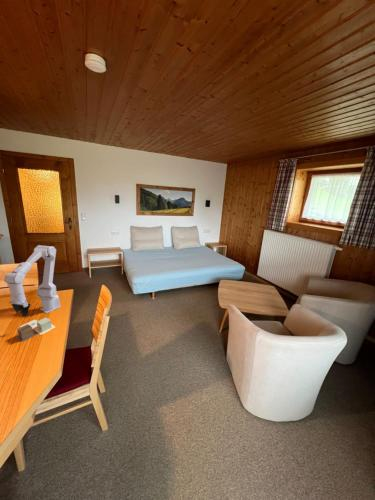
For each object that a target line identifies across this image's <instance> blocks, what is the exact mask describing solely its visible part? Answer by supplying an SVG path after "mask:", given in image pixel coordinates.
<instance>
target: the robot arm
mask: <svg viewBox="0 0 375 500" xmlns="http://www.w3.org/2000/svg"><path fill="white" fill-rule="evenodd" d="M56 255H57V249H56V248H55V246H52V245H51V246H49V245H40V244H38V245H37V246H35V247H34V249H33V252H32V254H31V255H29V257H28V258H27V259H26V261H25V262H24V261H23V262H22V261H21V262H20V263H19V264H18V265H17V266H16V267H15V268H14V269H13V270H12V271H10V272H8V273H7V274H5V276H4V279H3V281H4V283H6V285H7V286H8V288H9V293H10V299H11V300H10V301H9V303H8V304H10V305H11V306H12V307H13V309H14V311H15V313H19V312H20V314H21V316H22V317H23V318H24V317H27V316H29V310H30V307H31V303H28V301H27V297H26V295H25V290H24V286H23V282H24V280H25V277H26V275H27V274H29V271H31V269H32V266H33V264H35V263H36V262H37V261H38V260H39V259H40V258H43V260H44V268H43V277H42V278H43V279H42V283H41V284H39V286H38V289H37V291H36V296H37V297H38V298H39V299H40V301H41V306H42V308H39V310H40V311H41V312H43V313H45V314H48V313H50V312H53V311H55V310H57V309H59V308H61V307H62V306H61V302H60V298H59V295H58V294H57V291H58V290H57V285H55V284H54V283H53V281H54V272H55V264H56V263H55V262H56Z"/></svg>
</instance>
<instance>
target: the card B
mask: <svg viewBox="0 0 375 500" xmlns="http://www.w3.org/2000/svg"><path fill="white" fill-rule="evenodd" d="M51 326H52V328H50V329H48V330H46V331H44V332H41V331H40V330H39V329H38V327H35V328H33V331H34V332H35V333H36V332H37V333H38V334H39V335H43V334H46V333H47V332H49V331H51V330H53V329H54V328H56V326H55V325H54V324H52V323H51Z"/></svg>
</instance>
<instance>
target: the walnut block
mask: <svg viewBox="0 0 375 500" xmlns="http://www.w3.org/2000/svg"><path fill="white" fill-rule="evenodd" d="M16 331H17V336H19V337H20V338H21V339H22V340H25V339H26V338H28V337H30V336H32V335H34V334H33V332H34V328H33V329H32V327H31V326H30V325H28V324H27V325H25V326H23V327H20V326H19V327H18V328H17V329H16Z"/></svg>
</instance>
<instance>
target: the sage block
mask: <svg viewBox="0 0 375 500" xmlns="http://www.w3.org/2000/svg"><path fill="white" fill-rule="evenodd" d="M51 324H52V321H51V319H49V318H48V317H43V318H42V319H40V320H37V327H36V328H38V329H39V330H40V331H41V332H44V331H46V330H48V329H50V328H52V326H51Z"/></svg>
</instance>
